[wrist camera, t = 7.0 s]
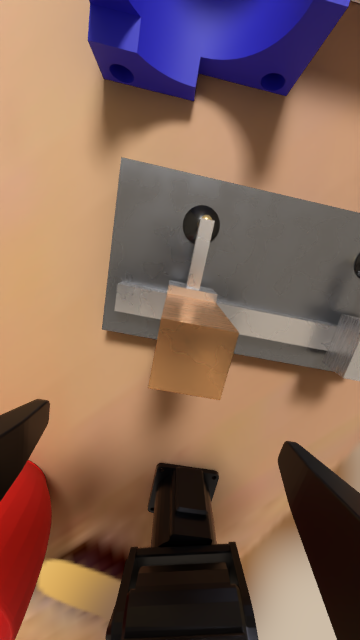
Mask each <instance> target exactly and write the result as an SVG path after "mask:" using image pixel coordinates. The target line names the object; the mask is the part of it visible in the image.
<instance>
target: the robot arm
mask: <svg viewBox="0 0 360 640" xmlns="http://www.w3.org/2000/svg"><path fill="white" fill-rule="evenodd" d="M49 409H50V403H49V401H48V400H42V399H36V400H34V401H31V402H29V403H27V404H25V405H22V406H20V407H18V408H16V409H13V410H11V411H9V412H6V413H4V414H2V415H0V501H1V500H2V499H3V497H4V496H5V494H6V493H7V491H8V490H9V488H10V487H11V485H12V484H13V483H14V481H15V480H16V478H17V477H18V475H19V474H20V472H21V471H22V469H23V467H24V466H25V464H26V462H27V461H28V459H29V457H30V455H31V453H32V452H33V450H34V448H35V446H36V444H37V443H38V441H39V439H40V437H41V436H42V434H43V432H44V430H45V428H46V426H47V424H48V421H49ZM278 465H279V469H280V473H281V476H282V480H283V484H284V488H285V492H286V495H287V499H288V503H289V506H290V509H291V512H292V515H293V518H294V520H295V524H296V526H297V529H298V532H299V535H300V537H301V540H302V543H303V546H304V549H305V552H306V554H307V557H308V560H309V563H310V565H311V568H312V571H313V574H314V576H315V579H316V582H317V585H318V588H319V590H320V593H321V596H322V599H323V602H324V604H325V607H326V610H327V613H328V616H329V618H330V621H331V624H332V627H333V629H334V632H335V635H336V638H337V640H360V493H359V492H357V491H356V490H355V489H354V488H352V487H351V486H350V485H349V484H347V483H346V482H345V481H344V480H342V479H341V478H340V477H339V476H338V475H336V474H335V473H334V472H333V471H331V470H330V469H329V468H328V467H326V466H325V465H324V464H323V463H321V462H320V461H319V460H318V459H316V458H315V457H314V456H313V455H311V454H310V453H309V452H308V451H306V450H305V449H304V448H303V447H302V446H300V445H299V444H298V443H296V442H291V441H286V442H284V444H283V447H282V449H281V452H280V454H279V457H278ZM161 468H162V469H161ZM218 479H219V475H218V472H217V471H214V470H207V469H200V468H193V467H186V466H180V465H173V464H166V463H159V464H158V465H157V468H156V473H155V477H154V482H153V486H152V491H151V495H150V500H149V504H148V511H149V512H152V513H154V517H153V529H152V540H151V547H149V548H138V547H131V549H130V553H129V557H128V559H127V560H126V562H125V567H124V572H123V576H122V580H121V584H120V588H119V593H118V597H117V601H116V605H115V607H114V610H113V613H112V616H111V619H110V622H109V625H108V628H107V632H106V640H258V635H257V629H256V623H255V618H254V613H253V608H252V604H251V600H250V596H249V592H248V588H247V584H246V581H245V577H244V573H243V569H242V565H241V562H240V558H239V554H238V550H237V547H236V543H235V542H229V544H217V542H216V535H215V528H214V521H213V513H212V506H211V501H212V498H213V495H214V492H215V488H216V485H217V482H218Z"/></svg>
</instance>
